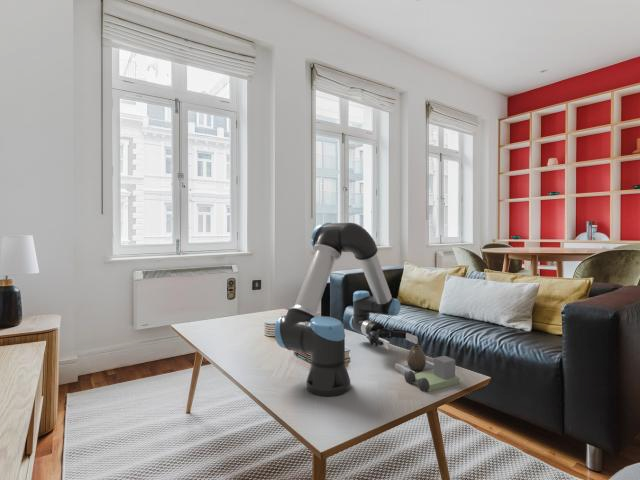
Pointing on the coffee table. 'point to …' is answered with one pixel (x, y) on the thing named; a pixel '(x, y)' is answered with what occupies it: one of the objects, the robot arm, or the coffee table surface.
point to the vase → (416, 358)
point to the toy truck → (435, 375)
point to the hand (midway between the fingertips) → (403, 342)
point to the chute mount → (406, 368)
